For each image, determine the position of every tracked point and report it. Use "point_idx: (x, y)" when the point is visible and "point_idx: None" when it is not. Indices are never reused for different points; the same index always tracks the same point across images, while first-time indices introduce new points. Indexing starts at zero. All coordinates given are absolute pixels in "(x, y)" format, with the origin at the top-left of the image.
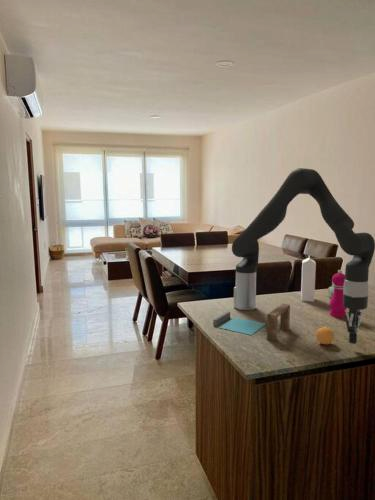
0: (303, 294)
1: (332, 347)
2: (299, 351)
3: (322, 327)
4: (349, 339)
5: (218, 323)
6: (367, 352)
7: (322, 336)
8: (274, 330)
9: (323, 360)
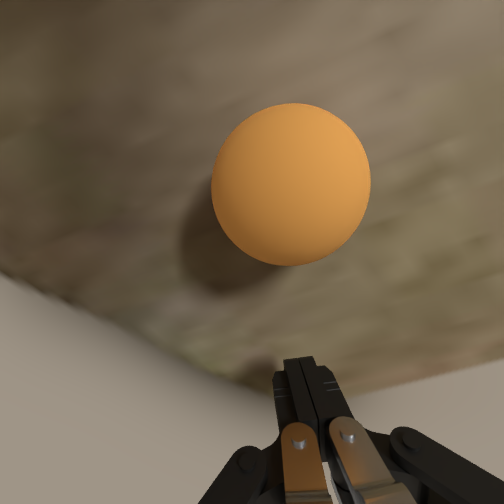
0: None
1: None
2: (22, 90)
3: (305, 159)
4: (287, 374)
5: None
6: None
7: (212, 196)
8: None
9: (34, 275)
